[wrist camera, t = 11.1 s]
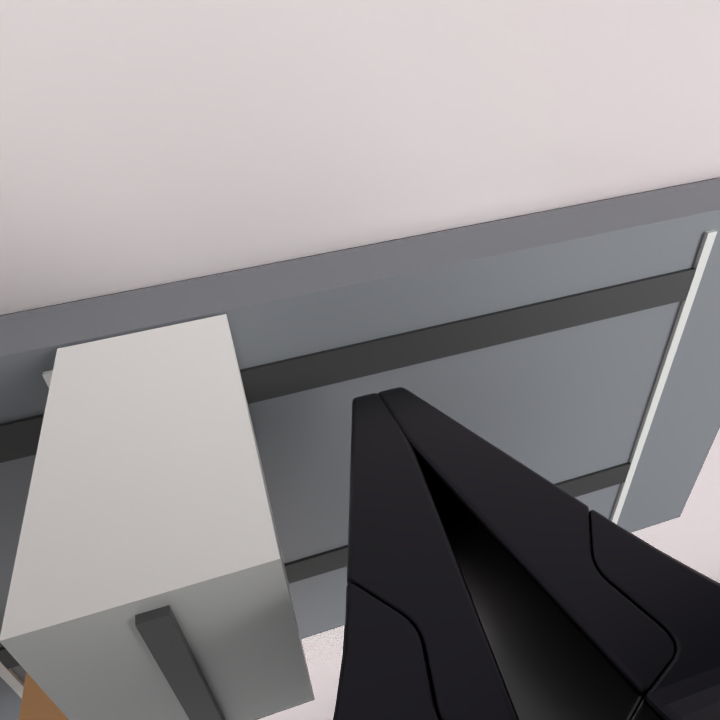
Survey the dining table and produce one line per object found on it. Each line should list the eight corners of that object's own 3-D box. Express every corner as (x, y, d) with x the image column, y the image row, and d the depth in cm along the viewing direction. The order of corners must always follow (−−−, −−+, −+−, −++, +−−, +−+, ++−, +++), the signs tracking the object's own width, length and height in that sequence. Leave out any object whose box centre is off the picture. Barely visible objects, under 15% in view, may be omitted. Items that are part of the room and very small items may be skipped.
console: (652, 486, 18) (681, 518, 17) (-51, 703, 14) (-66, 760, 13) (773, 167, 12) (830, 188, 11) (-407, 393, 8) (-483, 458, 7)
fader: (258, 452, 11) (316, 708, 7) (122, 487, 10) (111, 779, 7) (226, 314, 9) (281, 567, 5) (57, 348, 8) (-4, 653, 5)
